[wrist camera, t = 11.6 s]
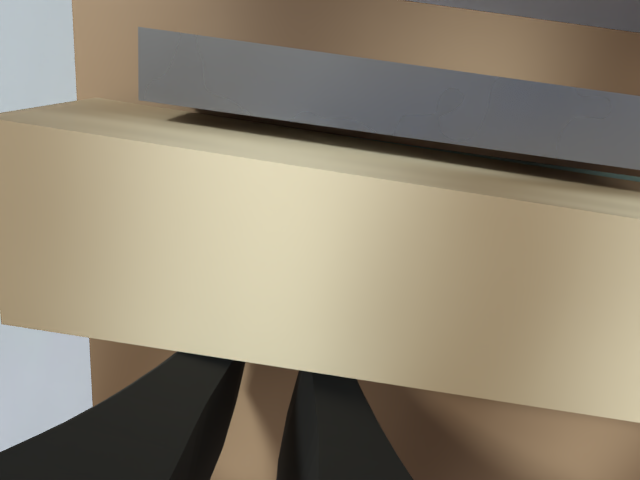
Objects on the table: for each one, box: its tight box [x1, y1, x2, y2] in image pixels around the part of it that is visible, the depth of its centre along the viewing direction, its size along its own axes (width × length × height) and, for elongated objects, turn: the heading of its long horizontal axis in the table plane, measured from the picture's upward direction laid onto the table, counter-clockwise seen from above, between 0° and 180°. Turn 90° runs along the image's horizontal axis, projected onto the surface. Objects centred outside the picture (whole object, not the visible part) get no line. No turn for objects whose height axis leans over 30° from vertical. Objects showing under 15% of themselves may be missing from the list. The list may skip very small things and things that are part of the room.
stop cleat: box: [138, 27, 640, 170], centre depth 8 cm, size 8×1×2 cm, turn 83°
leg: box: [0, 98, 640, 423], centre depth 8 cm, size 14×3×4 cm, turn 82°
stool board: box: [72, 0, 640, 480], centre depth 12 cm, size 18×18×1 cm
